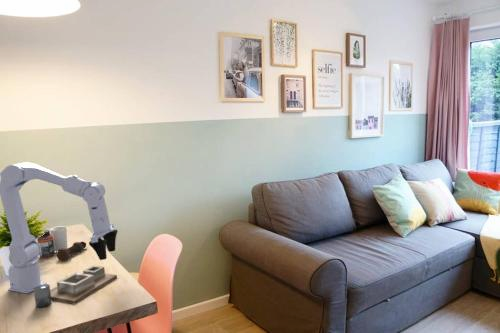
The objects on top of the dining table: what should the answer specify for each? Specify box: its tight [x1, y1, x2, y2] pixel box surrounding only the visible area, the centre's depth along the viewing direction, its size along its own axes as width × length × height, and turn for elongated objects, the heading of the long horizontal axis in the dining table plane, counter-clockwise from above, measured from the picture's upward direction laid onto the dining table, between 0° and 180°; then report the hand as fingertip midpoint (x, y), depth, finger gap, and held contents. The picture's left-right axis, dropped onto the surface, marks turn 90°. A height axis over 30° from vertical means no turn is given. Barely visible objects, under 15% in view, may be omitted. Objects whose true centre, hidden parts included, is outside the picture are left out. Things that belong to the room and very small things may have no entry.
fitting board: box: [50, 265, 118, 304], centre depth 131 cm, size 14×20×4 cm
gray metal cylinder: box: [33, 284, 52, 310], centre depth 119 cm, size 4×4×6 cm
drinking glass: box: [49, 225, 68, 251], centre depth 169 cm, size 7×7×10 cm
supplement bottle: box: [36, 229, 56, 259], centre depth 161 cm, size 6×6×11 cm
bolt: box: [55, 241, 87, 262], centre depth 163 cm, size 6×5×15 cm
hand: (107, 255), depth 132 cm, fingers open, 7 cm apart
